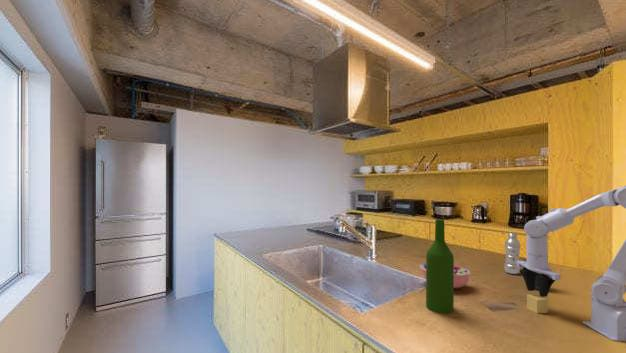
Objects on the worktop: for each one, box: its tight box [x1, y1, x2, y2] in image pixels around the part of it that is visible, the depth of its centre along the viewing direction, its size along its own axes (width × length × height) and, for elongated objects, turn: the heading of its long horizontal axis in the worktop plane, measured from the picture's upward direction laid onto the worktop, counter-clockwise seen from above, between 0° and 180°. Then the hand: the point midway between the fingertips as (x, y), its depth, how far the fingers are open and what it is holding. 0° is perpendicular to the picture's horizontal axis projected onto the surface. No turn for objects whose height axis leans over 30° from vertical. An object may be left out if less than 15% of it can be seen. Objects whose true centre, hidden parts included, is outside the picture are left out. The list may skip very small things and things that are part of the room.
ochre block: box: [526, 294, 549, 314], centre depth 94 cm, size 4×4×6 cm
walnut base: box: [480, 301, 522, 313], centre depth 95 cm, size 12×12×1 cm
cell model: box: [419, 262, 471, 289], centre depth 117 cm, size 17×20×11 cm
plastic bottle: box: [503, 231, 522, 275], centre depth 134 cm, size 6×7×20 cm
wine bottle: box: [425, 218, 455, 315], centre depth 97 cm, size 9×9×32 cm
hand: (537, 293), depth 94 cm, fingers open, 4 cm apart
